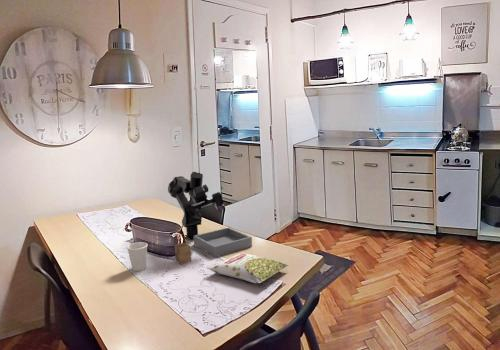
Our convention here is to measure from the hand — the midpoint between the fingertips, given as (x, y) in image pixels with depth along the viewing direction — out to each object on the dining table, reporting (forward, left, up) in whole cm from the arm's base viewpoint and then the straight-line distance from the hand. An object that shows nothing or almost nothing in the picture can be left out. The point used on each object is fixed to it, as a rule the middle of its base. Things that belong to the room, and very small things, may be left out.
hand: (209, 214), depth 186 cm
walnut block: (0, -14, -18) cm, 23 cm away
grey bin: (-5, +9, -18) cm, 20 cm away
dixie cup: (-5, -32, -18) cm, 37 cm away
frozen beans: (+29, 0, -18) cm, 35 cm away
